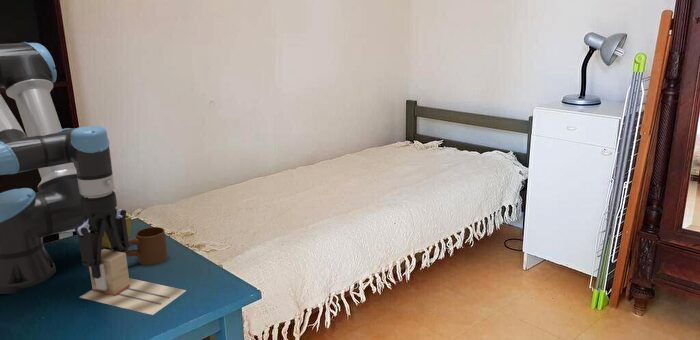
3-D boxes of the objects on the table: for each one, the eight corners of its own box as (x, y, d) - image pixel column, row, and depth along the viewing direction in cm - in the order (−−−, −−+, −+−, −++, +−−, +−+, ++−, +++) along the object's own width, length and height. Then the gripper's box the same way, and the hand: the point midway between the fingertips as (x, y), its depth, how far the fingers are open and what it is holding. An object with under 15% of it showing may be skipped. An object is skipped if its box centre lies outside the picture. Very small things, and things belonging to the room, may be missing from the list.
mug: (130, 277, 142) (125, 244, 139) (118, 268, 147) (114, 236, 145) (173, 263, 150) (169, 231, 147) (160, 255, 155) (157, 224, 153)
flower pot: (135, 244, 163) (132, 216, 160) (109, 255, 155) (105, 225, 153) (117, 238, 167) (113, 210, 165) (90, 248, 160) (86, 219, 157)
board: (79, 301, 130) (79, 297, 130) (117, 279, 141) (116, 275, 141) (153, 319, 123) (152, 314, 122) (187, 294, 133) (186, 290, 133)
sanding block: (92, 290, 133) (87, 256, 130) (108, 281, 137) (103, 248, 135) (114, 295, 130) (110, 261, 128) (130, 286, 135) (125, 253, 132)
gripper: (78, 207, 118) (93, 303, 124) (138, 183, 134) (148, 270, 140) (52, 203, 120) (68, 297, 127) (114, 180, 136) (126, 265, 143)
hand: (110, 283), depth 133 cm, fingers closed on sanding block, 5 cm apart
